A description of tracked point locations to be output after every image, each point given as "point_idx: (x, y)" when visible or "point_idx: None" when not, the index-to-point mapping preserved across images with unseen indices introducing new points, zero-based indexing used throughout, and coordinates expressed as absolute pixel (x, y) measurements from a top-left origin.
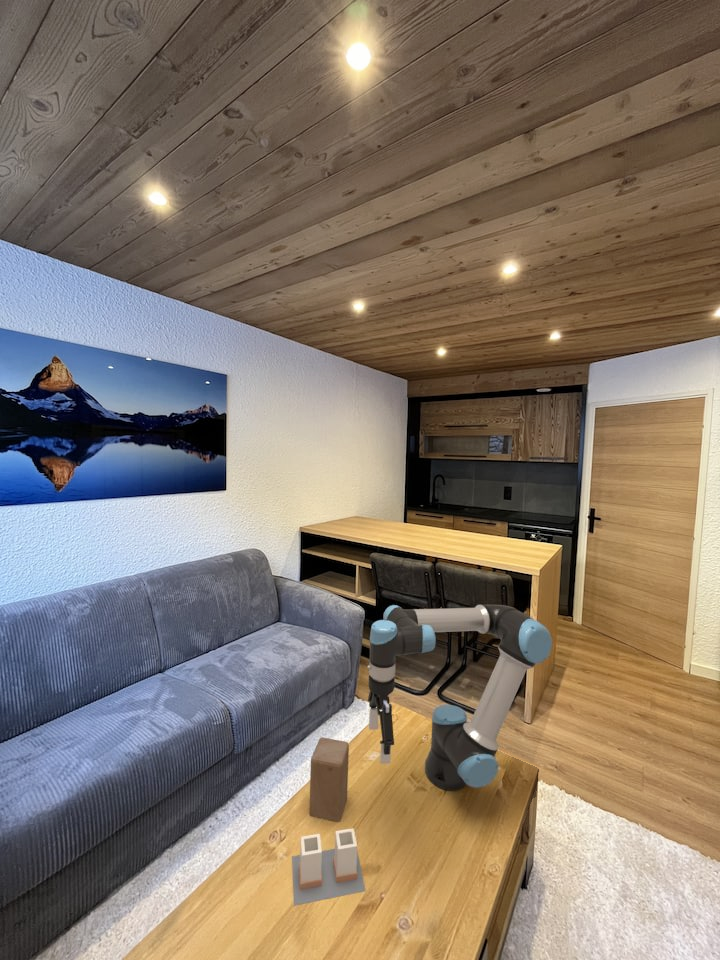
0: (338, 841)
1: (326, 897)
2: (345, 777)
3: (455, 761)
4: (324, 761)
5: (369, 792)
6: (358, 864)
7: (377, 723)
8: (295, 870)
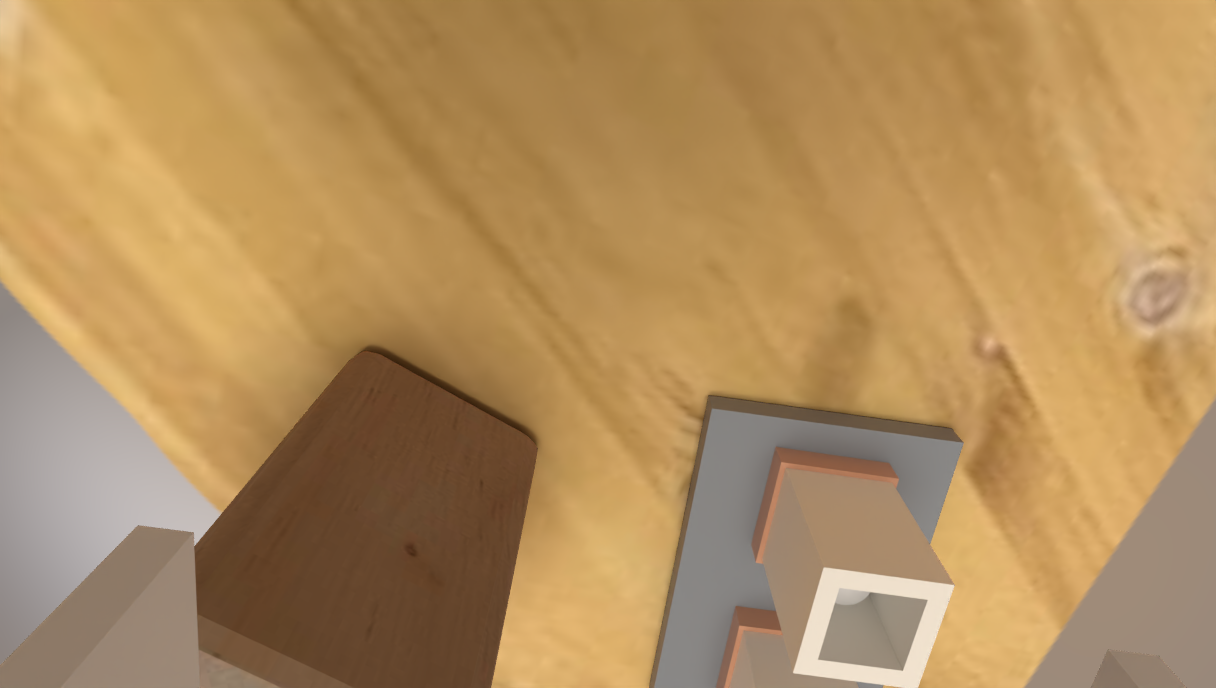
0: (869, 675)
1: None
2: (387, 510)
3: None
4: None
5: (342, 171)
6: (821, 432)
7: (116, 638)
8: None
